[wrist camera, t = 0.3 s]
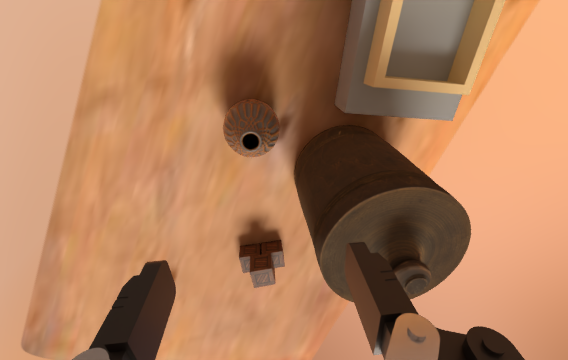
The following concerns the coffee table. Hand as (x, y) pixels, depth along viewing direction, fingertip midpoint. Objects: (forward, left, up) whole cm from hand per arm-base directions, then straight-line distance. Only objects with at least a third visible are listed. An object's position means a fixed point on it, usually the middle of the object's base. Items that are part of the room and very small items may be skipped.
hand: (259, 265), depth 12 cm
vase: (+1, -1, -28) cm, 28 cm away
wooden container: (+8, +13, -28) cm, 31 cm away
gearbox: (-11, +17, -27) cm, 34 cm away
